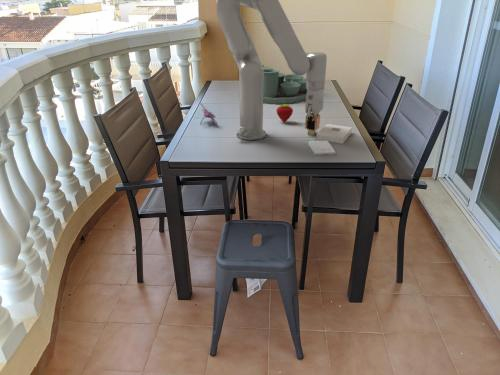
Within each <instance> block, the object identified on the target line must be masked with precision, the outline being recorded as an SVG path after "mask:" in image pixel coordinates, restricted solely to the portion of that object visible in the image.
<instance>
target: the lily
mask: <svg viewBox="0 0 500 375" xmlns="http://www.w3.org/2000/svg"><path fill="white" fill-rule="evenodd" d="M198 103H199V104H200V105H201V107H202V109H201V111H202V112H203V118H202V119H201V121H200V124H199V125H200V126H201V124H202V121H203V120H204V119H205V118H208V119H211V120H212V121H214V122H215V123H216V124H218V122H217V121H216V120H215V119H216V118H217V116H215V114H213V112H211V110H208V109H207V108H206V107H205V106H204V104H202V103H201V102H200V101H198Z"/></svg>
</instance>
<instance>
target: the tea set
mask: <svg viewBox="0 0 500 375" xmlns="http://www.w3.org/2000/svg"><path fill="white" fill-rule="evenodd" d="M262 66H263V70H264V80H263V104H270V105H273V104H274V105H283V103H284V104H295V103H298V102H304V101H306V96H307V89H306V78H304V75H296V74H294V73H293V74H285V73H282V72H280V71H281V70H280V69H279V68H276V67H271V68H270V67H269V66H264V64H262Z"/></svg>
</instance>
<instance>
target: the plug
mask: <svg viewBox="0 0 500 375" xmlns="http://www.w3.org/2000/svg"><path fill="white" fill-rule="evenodd" d="M311 116H312V117H313V115H311ZM314 121H315V128H314V130H309V129H307V114H306V115H305V124H304V125H305V126H304V129H306V130H308V132H307V135H311V136H314V135H315V134H316V131H317V130H318V129H320V125H321V114H319V115H317V114H316V115H315V118H314Z"/></svg>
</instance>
